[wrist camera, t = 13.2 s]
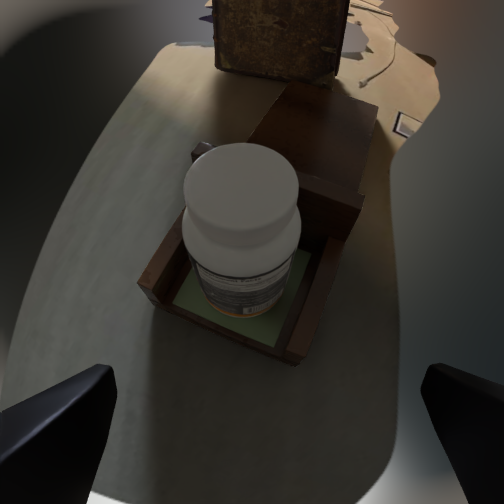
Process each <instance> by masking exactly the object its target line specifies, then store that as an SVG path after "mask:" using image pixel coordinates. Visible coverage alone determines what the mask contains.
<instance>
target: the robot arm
mask: <svg viewBox="0 0 504 504" xmlns="http://www.w3.org/2000/svg"><path fill="white" fill-rule="evenodd" d="M421 395H422V398H423V400H424V403H425V405H426V408H427V410H428V413H429V416H430V418H431V421H432V424H433V426H434V429H435V431H436V433H437V436H438V438H439V440H440V442H441V444H442V446H443V448H444V450H445V452H446V454H447V456H448V458H449V460H450V462H451V465H452V467H453V469H454V471H455V473H456V476H457V478H458V480H459V482H460V485H461V487H462V489H463V491H464V494H465V496H466V498H467V501H468V503H469V504H504V385H501V384H498V383H495V382H492V381H489V380H486V379H484V378H481V377H478V376H475V375H473V374H470V373H467V372H464V371H462V370H459V369H456V368H453V367H451V366H448V365H446V364H443V363H437V364H432V365H430V366H429V367H428V369H427V371H426V374H425V377H424V380H423V382H422V385H421ZM116 400H117V387H116V382H115V376H114V371H113V368H112V367H111V366H109V365H103V364H96V365H94V366H92V367H90V368H88V369H86V370H84V371H82V372H80V373H78V374H76V375H75V376H73V377H71V378H69V379H67V380H65V381H63V382H61V383H59V384H57V385H55V386H53V387H51V388H49V389H47V390H45V391H43V392H41V393H38V394H36V395H34V396H32V397H30V398H28V399H26V400H24V401H22V402H20V403H18V404H16V405H14V406H12V407H10V408H8V409H5V410H3V411H2V413H1V412H0V504H86V503H87V500H88V497H89V494H90V491H91V488H92V485H93V482H94V479H95V476H96V473H97V470H98V467H99V464H100V461H101V458H102V455H103V452H104V449H105V446H106V443H107V439H108V435H109V430H110V426H111V421H112V417H113V413H114V409H115V404H116Z"/></svg>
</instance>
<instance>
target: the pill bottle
mask: <svg viewBox="0 0 504 504" xmlns="http://www.w3.org/2000/svg"><path fill="white" fill-rule="evenodd" d="M298 191H299V184H298V178H297V175H296V172H295V170H294V168H293V167H292V165H291V164H290V163H289V162H288V161H287V160H286V159H285V158H284V157H283V156H282V155H281V154H279V153H277V152H276V151H274V150H272V149H270V148H267V147H264V146H261V145H257V144H251V143H233V144H227V145H222V146H219V147H216V148H214V149H212V150H210V151H208V152H206V153H205V154H203V155H202V156H200V157H199V158H198V159H197V160H196V161H195V162H194V163H193V164H192V166H191V167H190V169H189V170H188V172H187V174H186V177H185V180H184V198H185V202H186V206H187V207H186V209H185V212H184V215H183V221H182V234H183V240H184V244H185V247H186V250H187V252H188V255H189V259H190V261H191V264H192V267H193V269H194V272H195V275H196V277H197V280H198V283H199V285H200V288H201V291H202V292H203V294H204V296H205V298H206V300H207V301H208V302H209V303H210V305H211V306H213V307H214V308H215V309H216V310H218V311H219V312H221V313H223V314H225V315H228V316H231V317H237V318H249V317H254V316H257V315H260V314H262V313H264V312H266V311H268V310H269V309H271V308H272V307H273V306H274V305H275V304H276V303H277V302H278V300H279V299H280V297H281V296H282V294H283V292H284V290H285V287H286V283H287V280H288V277H289V273H290V270H291V266H292V262H293V259H294V255H295V252H296V249H297V245H298V242H299V238H300V233H301V218H300V213H299V210H298V207H297V205H296V204H297V198H298Z"/></svg>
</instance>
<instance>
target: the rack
mask: <svg viewBox="0 0 504 504" xmlns="http://www.w3.org/2000/svg"><path fill="white" fill-rule="evenodd" d="M377 112H378V106H375V105H372V104H369V103H367V102H364V101H361V100H358V99H355V98H352V97H349V96H346V95H343V94H340V93H337V92H334V91H330V90H327V89H324V88H320V87H317V86H313V85H310V84H306V83H302V82H298V81H294V80H291V81H290V82H289V84H288V85H287V86H286V88H285V89H284V90H283V92H282V93H281V94H280V96H279V97H278V98H277V100H276V101H275V102H274V104H273V105H272V107H271V108H270V109H269V111H268V112H267V113H266V115H265V116H264V117H263V119H262V120H261V122H260V123H259V124H258V126H257V127H256V129H255V130H254V131H253V133H252V134H251V136H250V137H249V138H248V140H247V141H246V143H251V144H257V145H261V146H264V147H267V148H270V149H272V150H274V151H276V152H277V153H279V154H281V155H282V156H283V157H284V158H285V159H286V160H287V161H288V162H289V163H290V164H291V165H292V167H293V168H294V170H295V172H296V175H297V178H298V184H299V191H298V198H297V204H296V205H297V207H298V210H299V213H300V218H301V233H300V238H299V242H298V245H297V249H296V252H295V255H294V259H293V262H292V266H291V270H290V273H289V277H288V280H287V283H286V287H285V290H284V292H283V294H282V296H281V297H280V299H279V300H278V302H277V303H276V304H275V305H274V306H273V307H272V308H271V309H269V310H268V311H266V312H264V313H262V314H260V315H257V316H254V317H249V318H237V317H231V316H228V315H225V314H223V313H221V312H219V311H218V310H216V309H215V308H214V307H213V306H211V305H210V303H209V302H208V301H207V300H206V298H205V296H204V294H203V292H202V291H201V288H200V285H199V283H198V280H197V277H196V275H195V272H194V269H193V267H192V264H191V261H190V259H189V255H188V252H187V250H186V247H185V244H184V240H183V234H182V221H183V215H184V212H185V209H186V207H187V206H185V207H184V209H183V210H182V212H181V213H180V215H179V216H178V218H177V219H176V221H175V223H174V224H173V226H172V227H171V229H170V230H169V232H168V233H167V235H166V236H165V238H164V239H163V241H162V243H161V244H160V246H159V247H158V249H157V251H156V252H155V254H154V255H153V257H152V259H151V260H150V262H149V263H148V265H147V267H146V268H145V270H144V272H143V273H142V275H141V277H140V278H139V280H138V282H137V284H138V285H139V287H140V288H141V289H142V290H143V292H144V293H145V294H146V296H147V297H148V299H149V300H150V301H151V302H152V304H153V305H155V306H157V307H159V308H161V309H163V310H165V311H167V312H169V313H171V314H173V315H175V316H177V317H179V318H181V319H183V320H186V321H188V322H190V323H192V324H194V325H196V326H198V327H200V328H203V329H205V330H207V331H209V332H211V333H214V334H216V335H218V336H220V337H223V338H225V339H227V340H229V341H232V342H234V343H236V344H239V345H241V346H243V347H246V348H248V349H250V350H253V351H255V352H258V353H260V354H262V355H265V356H267V357H270V358H272V359H275V360H277V361H280V362H282V363H285V364H287V365H290V366H293V367H297V366H298V365H299V364H300V362H301V361H302V360H303V359H304V358H305V357H306V355H307V353H308V350H309V347H310V345H311V342H312V340H313V337H314V334H315V332H316V329H317V326H318V324H319V321H320V318H321V315H322V312H323V310H324V307H325V304H326V301H327V298H328V295H329V292H330V290H331V287H332V284H333V281H334V278H335V275H336V272H337V269H338V265H339V262H340V259H341V256H342V253H343V250H344V246H345V243H346V241H347V239H348V237H349V235H350V233H351V231H352V229H353V227H354V225H355V222H356V220H357V218H358V216H359V214H360V212H361V210H362V207H363V203H364V199H365V195H362V194H360V193H358V189H359V186H360V182H361V178H362V175H363V171H364V167H365V163H366V159H367V155H368V151H369V147H370V143H371V139H372V134H373V130H374V126H375V121H376V117H377ZM216 147H218V146H214V145H211V144H207V143H203V142H199V143H198V145H197V146H196V147H195V148H194V150H193V151H192V152H191V156H192V162H193V163H194V162H195V161H196V160H197V159H198V158H199V157H200V156H202V155H203V154H205V153H206V152H208V151H210V150H212V149H214V148H216Z"/></svg>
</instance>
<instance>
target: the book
mask: <svg viewBox="0 0 504 504" xmlns="http://www.w3.org/2000/svg"><path fill="white" fill-rule="evenodd" d="M349 3H350V0H212V8H213V10H212V16H213V27H214V35H213V39H214V46H215V67H216V68H217V69H219V70H221V71H224V72H230V73H236V74H247V75H254V76H260V77H266V78H272V79H277V80H281V81H286V82H290V81H291V80H294V81H298V82H302V83H306V84H310V85H313V86H317V87H320V88H324V89H327V90H330V91H332V90H333V86H334V78H335V76H337V74H338V71H339V65H340V58H341V51H342V46H343V39H344V33H345V28H346V22H347V16H348V10H349Z"/></svg>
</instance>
